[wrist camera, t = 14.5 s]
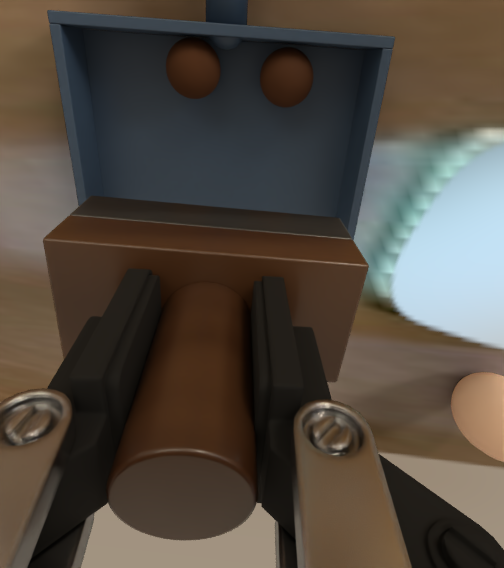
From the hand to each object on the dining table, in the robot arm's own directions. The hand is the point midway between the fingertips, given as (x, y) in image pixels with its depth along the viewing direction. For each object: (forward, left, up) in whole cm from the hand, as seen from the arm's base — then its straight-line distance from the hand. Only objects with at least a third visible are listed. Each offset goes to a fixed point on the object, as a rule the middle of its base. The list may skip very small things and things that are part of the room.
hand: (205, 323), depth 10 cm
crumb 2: (-5, +3, -15) cm, 16 cm away
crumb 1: (-6, -2, -15) cm, 16 cm away
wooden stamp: (0, 0, -4) cm, 4 cm away
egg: (+17, +22, -17) cm, 32 cm away
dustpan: (-6, 0, -16) cm, 17 cm away
